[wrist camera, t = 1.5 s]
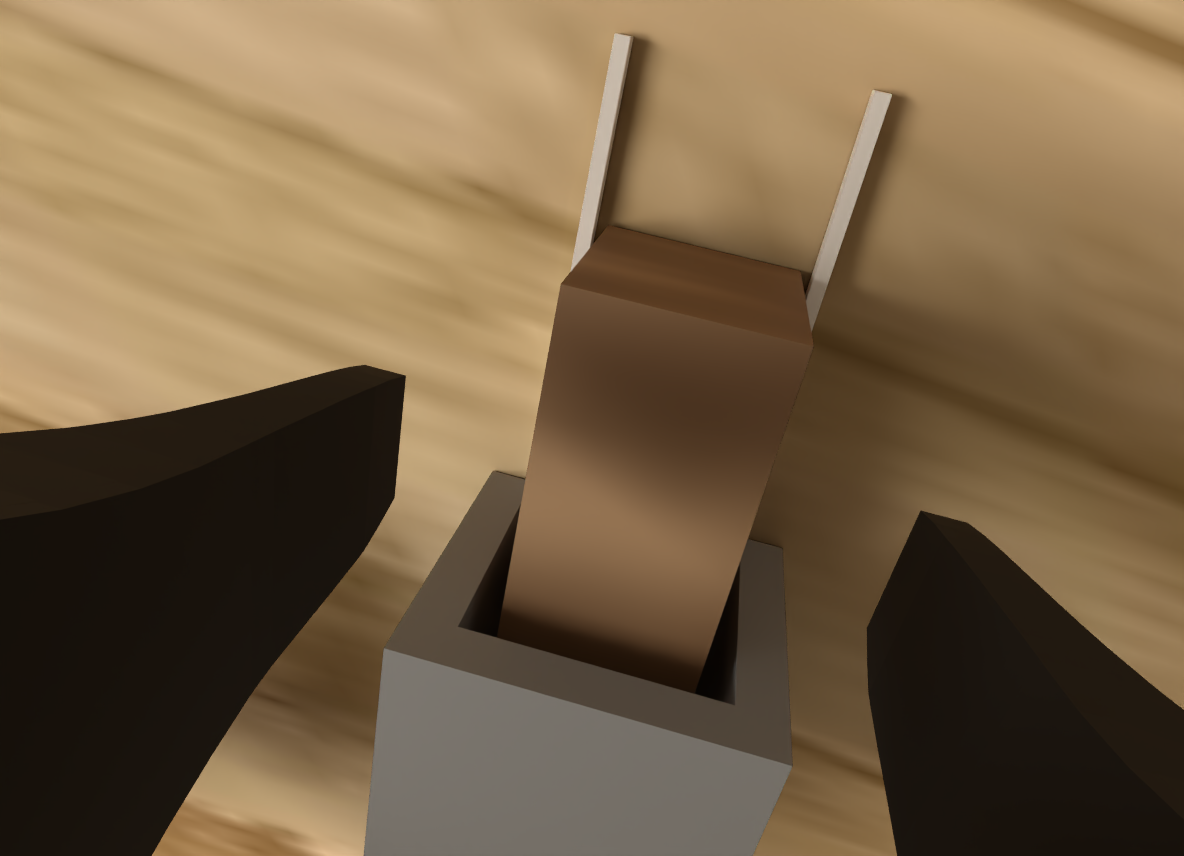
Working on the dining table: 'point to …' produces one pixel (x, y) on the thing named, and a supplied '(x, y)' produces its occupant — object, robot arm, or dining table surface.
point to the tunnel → (584, 680)
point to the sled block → (651, 452)
